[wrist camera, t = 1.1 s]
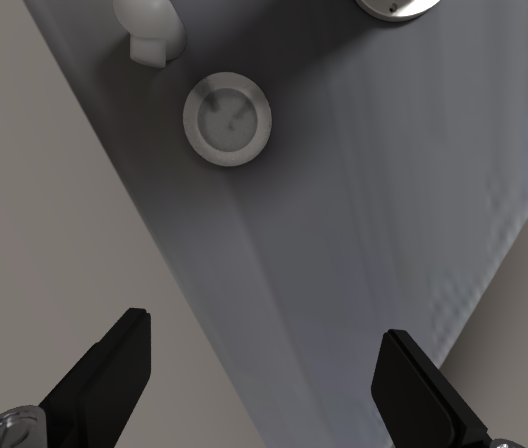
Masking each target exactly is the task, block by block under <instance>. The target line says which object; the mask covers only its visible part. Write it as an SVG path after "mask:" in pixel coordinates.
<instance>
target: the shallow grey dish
mask: <svg viewBox="0 0 528 448" xmlns="http://www.w3.org/2000/svg"><path fill="white" fill-rule="evenodd" d="M183 124H184V129H185V133H186V136H187V138H188V140H189V142H190V144H191V145H192V147H193V148H194V150H195V151H196V152H197V153H198V154H199V155H200V156H202V157H203V158H204V159H206V160H207V161H209V162H211V163H214V164H217V165H221V166H237V165H241V164H244V163H247V162H249V161H251V160H252V159H254V158H255V157H256V156H257V155H258V154H259V153H260V152H261V151H262V150H263V148H264V147H265V145H266V143H267V141H268V138H269V135H270V132H271V125H272V116H271V110H270V106H269V103H268V101H267V98H266V97H265V95H264V93H263V92H262V90H261V89H260V88H259V87H258V86H257V85H256V84H255V83H254V82H253V81H251V80H250V79H248V78H247V77H245V76H242V75H240V74H237V73H232V72H220V73H215V74H212V75H209V76H207V77H206V78H204V79H202V80H201V81H200V82H198V83H197V84H196V85H195V86H194V88H193V89H192V90H191V92H190V94H189V95H188V97H187V100H186V102H185V106H184V111H183Z"/></svg>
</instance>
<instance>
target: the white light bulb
mask: <svg viewBox="0 0 528 448" xmlns="http://www.w3.org/2000/svg"><path fill="white" fill-rule="evenodd" d="M113 8H114V12H115V15H116V17H117V19H118V21H119V22H120V23H121V25H122V26H123V27H124V28H125V29H126V30H127V31H128V32H129V33H130V34H131V37H130V58H131V59H132V60H133V61H135V62H137V63H140V64H142V65H145V66H149V67H154V68H164V67H165V66H166V61H167V60H173V59H175V58H177V57H178V56H179V55H180V54H181V53H182V52H183V50H184V48H185V45H186V31H185V28H184V26H183V24H182V22H181V20H180V18H179V17H178V15H177V13H176V11H175V10H174V8H173V6H172V4H171V3H170V1H169V0H113Z"/></svg>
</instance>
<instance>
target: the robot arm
mask: <svg viewBox="0 0 528 448" xmlns="http://www.w3.org/2000/svg"><path fill="white" fill-rule="evenodd" d="M355 1H356V2H357V3H358V5H359V6H360V7H361V8H362V9H363V10H365V11H366V12H367V13H369V14H370V15H372V16H374V17H376V18H378V19H381V20H386V21H390V22H398V21H406V20H410V19H413V18H416V17H418V16H420V15H422V14H424V13H425V12H427V11H428V10H430V9H431V8H433V7H434V6H435V5H436V4H437V3H438V2H439V1H440V0H355ZM390 11H391V12H390ZM150 374H151V316H150V313H147V312H146V310H145V309H140V308H129V309H128V310H127V311H126V312H125V313H124V314H123V316H122V317H121V318H120V319H119V320H118V321H117V322H116V323H115V325H114V326H113V327H112V328H111V329H110V330H109V331H108V332H107V333H106V335H105V336H104V337H103V338H102V339H101V340H100V341H99V342H97V343H95V344H94V345H93V346H92V347H91V348H90V349H89V350H88V351H87V352H86V353H85V354H84V356H83V357H82V358H81V359H80V360H79V361H78V362H77V363H76V364H75V366H74V367H73V368H72V369H71V370H70V371H69V372H68V373H67V374H66V375H65V377H64V378H63V379H62V380H61V381H60V382H59V383H58V384H57V385H56V386H55V388H54V389H53V390H52V391H51V392H50V393H49V394H48V395H47V397H45V399H44V400H43V401H42V402H41V403H40V404H39V405H38V406H33V405H28V406H20V407H17V408H13V409H10V410H8V411H6V412H4V413H2V414H0V448H114V447H115V445H116V443H117V441H118V439H119V437H120V435H121V433H122V431H123V429H124V427H125V425H126V423H127V421H128V419H129V418H130V415H131V413H132V412H133V409H134V408H135V406H136V404H137V402H138V400H139V398H140V396H141V394H142V392H143V390H144V388H145V386H146V384H147V382H148V380H149V378H150ZM371 394H372V397H373V400H374V402H375V404H376V406H377V408H378V410H379V413H380V415H381V417H382V419H383V421H384V423H385V426H386V428H387V430H388V432H389V434H390V436H391V439H392V441H393V443H394V445H395V447H396V448H525V447H523V446H522V445H520V444H517V443H515V442H513V441H510V440H506V439H494V440H492V439H491V438H490V437H489V435H488V434H487V430H488V429H487V427H486V426H485V425H484V424H483V423H482V421H481V420H480V419H479V418H478V417H477V415H476V414H475V413H474V412H473V411H472V410H471V408H470V407H469V406H468V405H467V403H466V402H465V401H464V400H463V399H462V398H461V396H460V395H459V394H458V393H457V391H456V390H455V389H454V388H453V387H452V385H451V384H450V383H449V382H448V381H447V379H446V378H445V377H444V376H443V375H442V374H441V372H440V371H439V370H438V369H437V367H436V366H435V365H434V364H433V363H432V361H431V360H430V359H429V358H428V357H427V355H426V354H425V353H424V352H423V351H422V349H421V348H420V347H419V346H418V345H417V343H416V342H415V341H414V340H413V339H412V337H411V336H410V335H409V334H408V333H407V332H406V331H405V330H396V329H389V330H388V332H387V333H384V335H383V339H382V343H381V347H380V351H379V356H378V360H377V364H376V368H375V372H374V377H373V381H372V385H371Z"/></svg>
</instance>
